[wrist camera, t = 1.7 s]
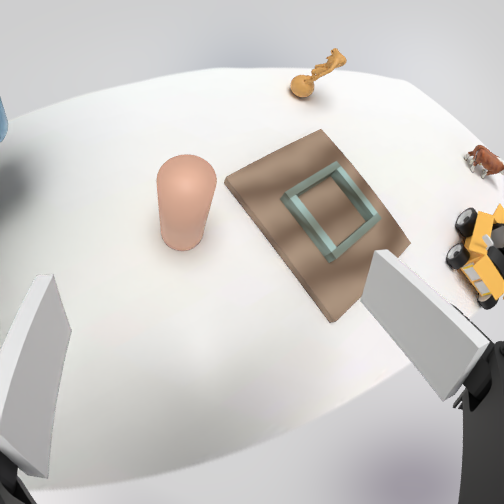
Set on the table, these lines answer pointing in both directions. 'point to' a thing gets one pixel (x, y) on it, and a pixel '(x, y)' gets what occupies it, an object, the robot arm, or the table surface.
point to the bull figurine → (486, 161)
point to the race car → (481, 253)
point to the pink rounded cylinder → (184, 200)
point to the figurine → (305, 84)
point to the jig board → (318, 218)
